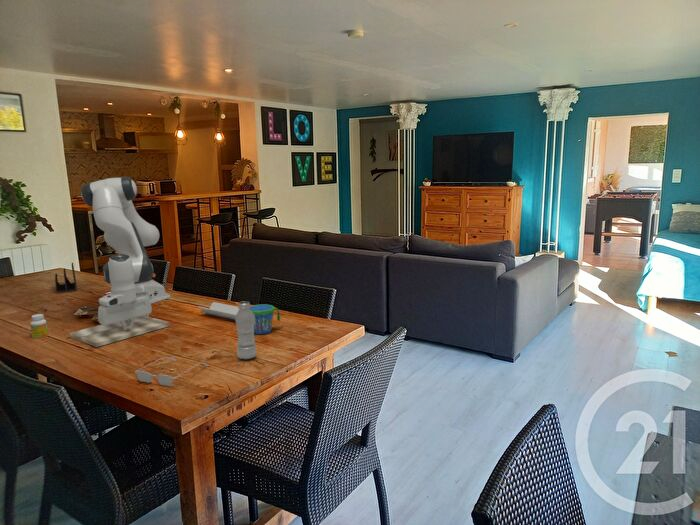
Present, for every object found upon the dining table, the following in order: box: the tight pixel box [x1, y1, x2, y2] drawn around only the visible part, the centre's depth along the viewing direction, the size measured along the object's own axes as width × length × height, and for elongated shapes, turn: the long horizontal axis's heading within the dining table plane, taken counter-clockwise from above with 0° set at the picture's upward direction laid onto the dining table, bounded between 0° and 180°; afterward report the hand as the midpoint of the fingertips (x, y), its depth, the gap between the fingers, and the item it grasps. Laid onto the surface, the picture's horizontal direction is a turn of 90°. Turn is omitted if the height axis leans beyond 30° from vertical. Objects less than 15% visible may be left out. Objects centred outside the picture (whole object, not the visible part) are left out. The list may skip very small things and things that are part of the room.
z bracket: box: [198, 301, 239, 321], centre depth 220 cm, size 12×25×6 cm
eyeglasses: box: [134, 357, 209, 387], centre depth 160 cm, size 15×18×4 cm
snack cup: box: [250, 303, 281, 335], centre depth 198 cm, size 16×10×10 cm
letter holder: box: [54, 262, 78, 294], centre depth 277 cm, size 10×20×14 cm, turn 29°
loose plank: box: [81, 317, 171, 348], centre depth 196 cm, size 30×12×2 cm, turn 142°
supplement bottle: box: [30, 313, 49, 339], centre depth 194 cm, size 5×5×10 cm
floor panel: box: [69, 315, 153, 342], centre depth 199 cm, size 32×25×2 cm
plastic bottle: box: [234, 300, 257, 360], centre depth 170 cm, size 6×7×20 cm
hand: (127, 329), depth 195 cm, fingers closed, pressing on loose plank
